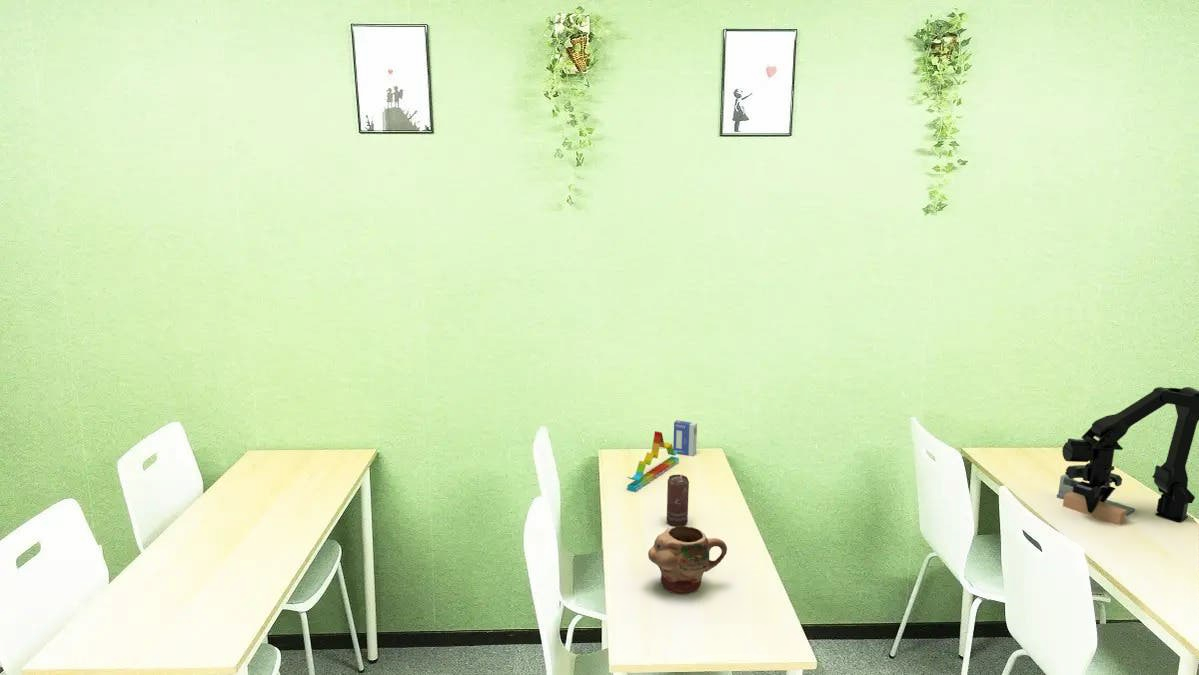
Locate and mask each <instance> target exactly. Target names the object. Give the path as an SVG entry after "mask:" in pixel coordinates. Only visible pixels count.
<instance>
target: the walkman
mask: <svg viewBox="0 0 1199 675" xmlns="http://www.w3.org/2000/svg"><path fill="white" fill-rule="evenodd" d="M697 435H698V423H696V422H692V421H691V422H690V421H683V420H679V419H678V420H677V419H676V420H675V421H674V422H673V442H672V447H673V450H674V451H678V453H677V454H676V455H682V456H690V457H694V456H696V455H697V442H698V441H697Z"/></svg>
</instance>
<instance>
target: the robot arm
mask: <svg viewBox="0 0 1199 675" xmlns="http://www.w3.org/2000/svg"><path fill="white" fill-rule="evenodd" d="M1167 404H1168V405H1174V406H1175V410H1176V415H1177V418H1176V419H1177V420H1176V423H1175V425H1174V426H1175V427H1174V429H1173V433H1172V437H1171V441H1170V445H1169V449H1168V452H1167V455H1166V460H1165V462H1164V463H1163V464H1162V465H1158V464H1157V465H1156V466H1155V467H1154V473H1153V475H1152V476H1151V478H1153V482H1154V484H1155V485H1156V487H1157V490H1158V492H1160V493H1161V495H1160V497H1159V498H1158V501H1157V504H1156V505H1157V507H1156V512H1155V515H1156V516H1158V517H1161V518H1163V519H1167V520H1170V521H1174V522H1177V523H1182V522H1184V521H1185V520H1186V519H1188V518H1189V515H1187V512H1188V507H1189V504H1193V502H1194V500H1195V498H1196V497H1195V495H1194V494H1193V493H1192V492H1191V491H1190V490H1189V489H1188V484H1189V476H1188V474H1187V473H1188V472H1187V469H1186V467H1187V462H1188V458H1189V455H1190V451H1191V447H1192V444H1193V441H1194V437H1195V433H1196V429H1197V426H1198V423H1199V390H1198V389H1196V388H1193V387H1190V386H1184V387H1182V388H1177V387H1162V386H1159V387H1157V386H1156V387H1155V388H1153V390H1152V391H1151V392H1149V393H1148V394H1147V395H1144V396H1143V397H1141V398H1140V399H1138V400H1137V401H1135V402H1134V403H1132V404H1131V405H1129V406H1127V407H1125V408H1123V409H1122V410H1121V411H1119V412H1117V413H1115V414H1110V415H1106V416H1103V417H1100V418H1098V419H1096V420H1094V422H1092V424H1091V427H1090V428H1089V429H1087V431H1086V432H1085V433H1084V434H1083V435H1081V437H1080V438H1081V439H1075V438H1068V439H1067V442H1064V445H1063V446H1062V449H1061V450H1062V451H1061V452H1062V456H1063V457H1062V458H1063V459H1064V461H1065V462H1071V463H1073V462H1074V463H1075V462H1076V463H1086V464H1083V465H1082V464H1080V465H1077V464H1076V465H1069V466H1067V468H1066V469H1065V472H1064V473H1065V474H1066V475H1067V476H1068V477H1069V479H1073V478H1074V479H1082V480H1081V481H1080V482H1079V483H1077V484H1075V485H1073V490H1072V491H1073V492H1074V493H1077V494H1080V495H1083V496H1085V500H1086V504H1087V509H1088V512H1090V513H1092V512H1093V511H1094V509H1095V508H1096V506H1097V505H1098V503H1099V501H1101V502H1105V501H1106V500H1108V499H1109V497H1110V496H1111V495H1112V493H1113V492H1114V491H1115V490H1116V488H1115V487H1120V486H1122V484H1123V483H1122V482H1123V478H1122V477H1121V476H1120V475H1119V474H1116V473H1113V471H1115V466H1114V465H1113V461H1114V457H1115V456H1114V455H1115V451H1116V450H1117V451H1122V450H1123V446H1121V445H1120V444H1119V440H1121V439H1122V438H1123V437H1124V436H1125V435H1127V432H1128V430H1129V429H1130V428H1131V427H1132V426H1133V425H1135V424H1137V423H1138V422H1140V421H1142V420H1143V419H1144V418H1146V417H1149V415H1151V414H1152V413H1154V412H1156V411H1158V410H1159V409H1161V408H1162V407H1164V406H1165V405H1167ZM1095 437H1096V438H1097V439H1096V438H1095ZM1065 474H1064V475H1065ZM1112 483H1114V486H1115V487H1113V486H1111V484H1112Z"/></svg>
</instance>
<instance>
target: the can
mask: <svg viewBox="0 0 1199 675" xmlns="http://www.w3.org/2000/svg"><path fill="white" fill-rule="evenodd" d="M689 486H690V481H689V479H688V477H687V476H686V475H684V474H672V475H670V476H669V477H668V479H667V494H666V497H667V498H666V522H667V524H668V525H669V526H671V527H676V526H680V525H683V526H687V524H688V521H689V520H688V518H689V489H690V487H689Z"/></svg>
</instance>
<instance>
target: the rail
mask: <svg viewBox="0 0 1199 675" xmlns="http://www.w3.org/2000/svg"><path fill="white" fill-rule="evenodd" d="M1062 507H1064V508H1067V509H1070V510H1073V511H1076V512H1078V513H1082V514H1084V515H1086V516H1089V517H1093V518H1096V519H1099V520H1101V521H1102V520H1103V521H1105V522H1108V523H1111V524H1114V525H1117V526H1120V525H1122V524H1124V523H1126V517H1127V516H1126V513H1127V510H1125V509H1122V508H1119V507H1116V506H1113V505H1110V504H1107V503H1104V502H1101V501H1099V503H1098V505H1097V506H1096V508H1095V509H1094V511H1093V512H1092V513H1090V512H1088V509H1087V504H1086V500H1085V496H1082V495H1079V494H1076V493H1073V492H1069V493H1067V494H1065V495H1064V499H1063V503H1062Z"/></svg>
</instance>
